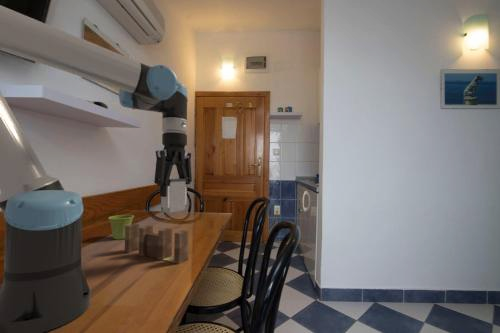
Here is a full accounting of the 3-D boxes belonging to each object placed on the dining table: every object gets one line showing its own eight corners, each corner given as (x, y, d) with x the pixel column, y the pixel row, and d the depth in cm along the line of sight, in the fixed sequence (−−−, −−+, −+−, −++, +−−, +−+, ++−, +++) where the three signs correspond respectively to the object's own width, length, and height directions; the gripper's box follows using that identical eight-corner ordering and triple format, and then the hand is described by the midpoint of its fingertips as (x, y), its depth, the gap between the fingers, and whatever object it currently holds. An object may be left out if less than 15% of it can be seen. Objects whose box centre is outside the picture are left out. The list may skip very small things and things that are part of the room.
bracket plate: (170, 212, 76) (170, 179, 76) (162, 211, 77) (162, 179, 77) (185, 209, 82) (185, 178, 82) (177, 208, 83) (177, 178, 84)
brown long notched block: (179, 263, 76) (179, 233, 76) (124, 252, 86) (125, 225, 86) (188, 259, 79) (188, 230, 79) (134, 249, 89) (134, 223, 89)
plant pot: (104, 241, 98) (105, 219, 98) (111, 235, 107) (112, 215, 107) (130, 240, 100) (131, 218, 100) (135, 234, 109) (136, 214, 109)
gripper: (160, 127, 69) (159, 211, 69) (203, 136, 87) (202, 202, 87) (140, 129, 72) (139, 209, 72) (185, 137, 90) (185, 201, 90)
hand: (174, 205), depth 80 cm, fingers closed on bracket plate, 7 cm apart
